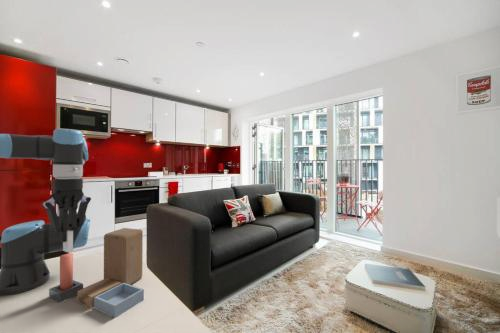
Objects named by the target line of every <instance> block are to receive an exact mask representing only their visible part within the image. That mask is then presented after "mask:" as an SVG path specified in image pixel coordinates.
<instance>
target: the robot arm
mask: <svg viewBox="0 0 500 333" xmlns="http://www.w3.org/2000/svg"><path fill="white" fill-rule="evenodd" d="M88 150H89V149H88V144H87V142H86V140H85V139H84V134H83V132H82V131H81V130H77V129H69V128H56V129H54V130H53V135H49V134H48V135H47V134H43V135H40V134H39V135H27V134H26V135H25V134H10V133H0V159H33V160H39V161H40V160H42V161H52V177H53V180H52V194H51V198H50V199H48V200H46V201H42V203H41V205H42V207H43V208H44V209H45V210H46V214H47V217H48V220H49V223H45V221H44V220H43V219H42V220H41V219H39V220H32V221H27V222H21V223H18V224H14V225H11V226H9V227H7V228H4V229H3V231H2V233H1V237H0V238H1V239H0V244H1V246H0V248H1V249H0V251H1V252H0V254H1V255H0V256H1V257H0V259H1V260H0V264H1V265H0V266H1V267H0V296H7V295H14V294H19V293H22V292H27V291H29V290H33V289H36V288H38V287H40V286H42V285H44V284H45V283H47V282H48V281H49V280H50V279H51V277H50V276H51V274H50V270H49V268H48V266H47V263H46V261H45V255H46V254H50V253H57V252H62V251H63V252H65V253H71V252H73V251H74V249H79V248H83V247H84V246H86V245H87V244H88V239H89V235H90V234H89V232H90V225H91V219H90V218H87V215H86V214H87V210H88V206H89V203H90V202H91V201H92V197H90V196H87V195H85V194H84V192H83V188H84V179H83V178H82V177H83V175H84V174H83V173H84V168H83V167H84V165H85V164H86V162H87V161H88V160H89V151H88ZM55 204H56V207H55Z"/></svg>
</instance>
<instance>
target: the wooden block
mask: <svg viewBox="0 0 500 333" xmlns="http://www.w3.org/2000/svg"><path fill="white" fill-rule="evenodd" d="M143 235H144V234H143V230H142V229H137V228H127V227H122V228H120V229H119V228H118V229H117V230H113V231H110V232H108V233H105V234H104V236H103V279H105V278H109V279H112V280H115V281H118V282H121V284H122V283H126V284H129V285H133V284H134V283H136V282H137V281H139V280H140V279H142V277H143V250H144V249H143V242H144V240H143V238H144V237H143Z"/></svg>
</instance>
